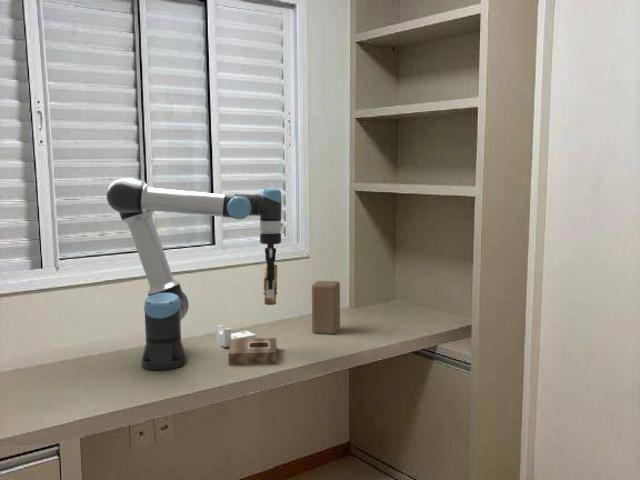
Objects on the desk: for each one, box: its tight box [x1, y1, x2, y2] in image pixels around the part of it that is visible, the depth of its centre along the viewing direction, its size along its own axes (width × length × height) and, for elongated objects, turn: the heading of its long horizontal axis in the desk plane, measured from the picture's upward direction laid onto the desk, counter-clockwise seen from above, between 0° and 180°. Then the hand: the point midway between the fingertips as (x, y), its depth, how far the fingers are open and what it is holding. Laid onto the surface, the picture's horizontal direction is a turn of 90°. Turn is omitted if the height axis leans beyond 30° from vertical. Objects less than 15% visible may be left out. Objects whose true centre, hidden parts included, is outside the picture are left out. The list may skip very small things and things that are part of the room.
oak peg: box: [263, 264, 278, 306], centre depth 225 cm, size 5×5×14 cm
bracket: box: [215, 324, 257, 348], centre depth 236 cm, size 13×7×8 cm, turn 124°
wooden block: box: [311, 280, 341, 335], centre depth 253 cm, size 10×10×20 cm
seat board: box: [227, 337, 277, 366], centre depth 220 cm, size 16×18×4 cm
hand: (270, 296), depth 226 cm, fingers closed on oak peg, 5 cm apart
